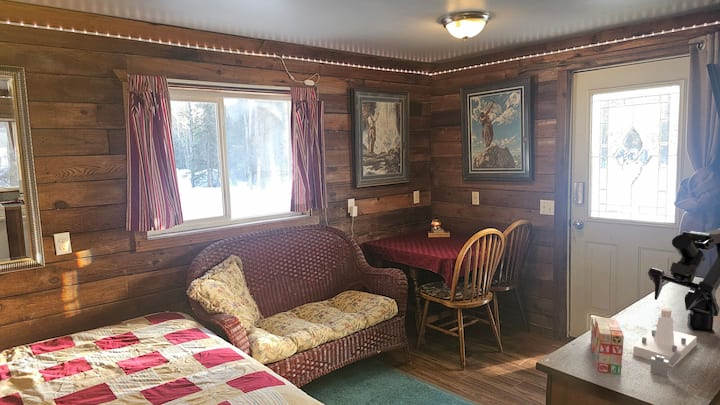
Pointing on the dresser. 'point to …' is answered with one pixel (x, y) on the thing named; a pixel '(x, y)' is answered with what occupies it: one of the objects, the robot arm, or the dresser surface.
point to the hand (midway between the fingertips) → (670, 304)
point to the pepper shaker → (665, 329)
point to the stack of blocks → (607, 344)
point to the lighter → (663, 363)
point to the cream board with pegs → (651, 348)
